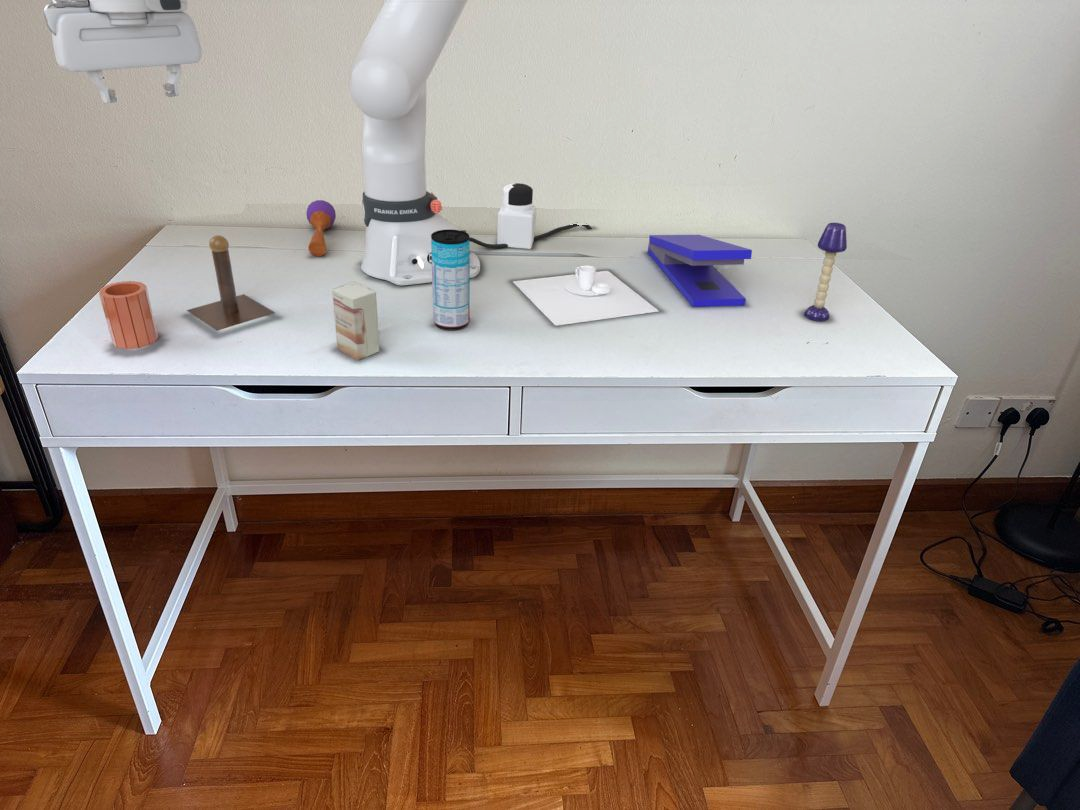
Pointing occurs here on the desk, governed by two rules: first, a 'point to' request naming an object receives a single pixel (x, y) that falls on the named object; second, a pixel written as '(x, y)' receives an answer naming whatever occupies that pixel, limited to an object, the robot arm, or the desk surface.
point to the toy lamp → (827, 268)
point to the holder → (227, 294)
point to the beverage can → (451, 278)
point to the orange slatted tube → (129, 314)
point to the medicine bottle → (517, 217)
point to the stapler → (699, 267)
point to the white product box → (356, 320)
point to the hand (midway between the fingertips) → (142, 99)
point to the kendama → (319, 224)
